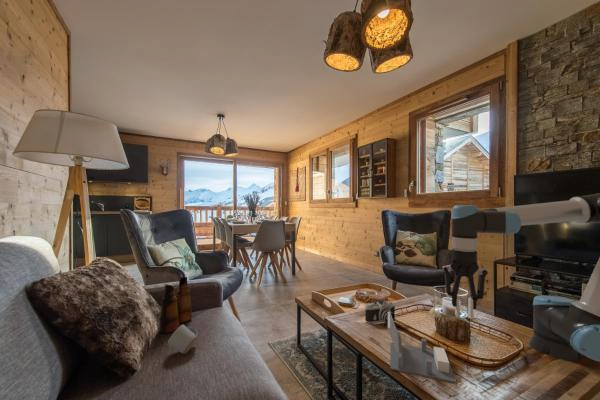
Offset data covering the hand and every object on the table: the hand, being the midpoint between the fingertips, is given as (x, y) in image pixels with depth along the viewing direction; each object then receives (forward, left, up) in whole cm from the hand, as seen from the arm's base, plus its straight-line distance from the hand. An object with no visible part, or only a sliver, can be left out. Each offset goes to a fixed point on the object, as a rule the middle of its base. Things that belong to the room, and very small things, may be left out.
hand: (463, 316), depth 89 cm
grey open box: (+14, 0, -19) cm, 23 cm away
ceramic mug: (+100, +23, -19) cm, 104 cm away
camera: (+28, -28, -19) cm, 44 cm away
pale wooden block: (+7, 0, -18) cm, 19 cm away
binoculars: (+120, +7, -19) cm, 122 cm away
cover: (+21, 0, -14) cm, 25 cm away
